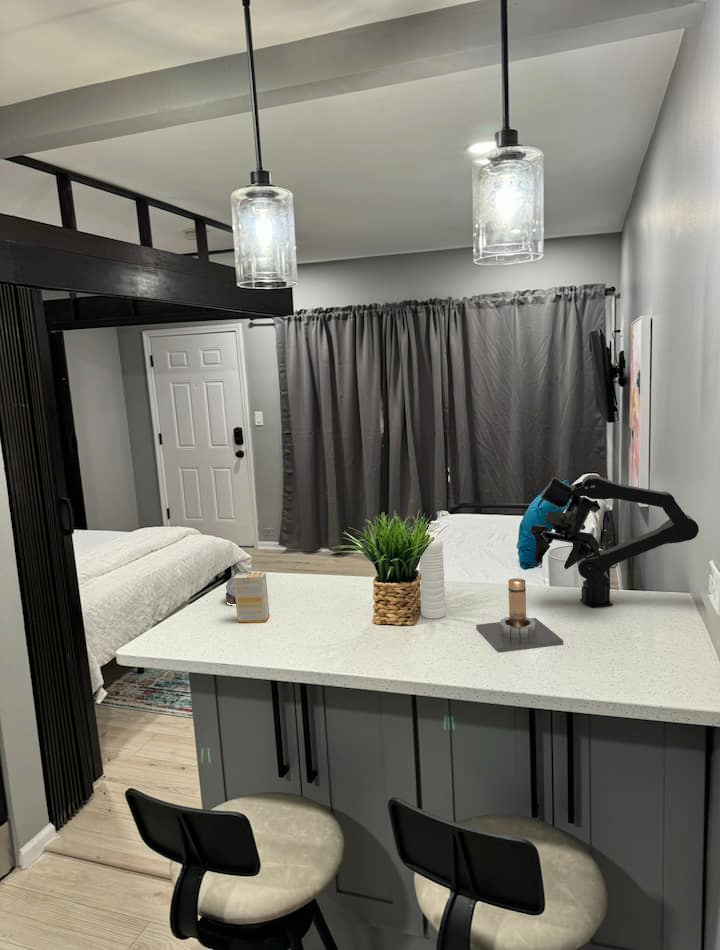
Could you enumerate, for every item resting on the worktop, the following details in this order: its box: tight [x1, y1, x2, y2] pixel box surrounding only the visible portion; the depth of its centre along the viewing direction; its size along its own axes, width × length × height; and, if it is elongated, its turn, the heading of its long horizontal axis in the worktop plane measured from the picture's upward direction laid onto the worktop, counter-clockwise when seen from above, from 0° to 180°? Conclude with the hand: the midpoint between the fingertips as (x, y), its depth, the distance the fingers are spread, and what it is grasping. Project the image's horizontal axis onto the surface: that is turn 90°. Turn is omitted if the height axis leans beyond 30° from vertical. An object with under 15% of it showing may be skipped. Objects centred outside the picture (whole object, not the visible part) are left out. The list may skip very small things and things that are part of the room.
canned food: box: [225, 570, 253, 604], centre depth 211 cm, size 11×10×10 cm
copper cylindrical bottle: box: [507, 577, 527, 627], centre depth 170 cm, size 4×4×13 cm
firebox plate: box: [475, 616, 564, 653], centre depth 171 cm, size 16×16×4 cm
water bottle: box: [418, 520, 447, 620], centre depth 189 cm, size 9×6×25 cm
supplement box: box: [233, 571, 270, 623], centre depth 193 cm, size 8×5×13 cm, turn 84°
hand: (550, 565), depth 183 cm, fingers open, 9 cm apart
